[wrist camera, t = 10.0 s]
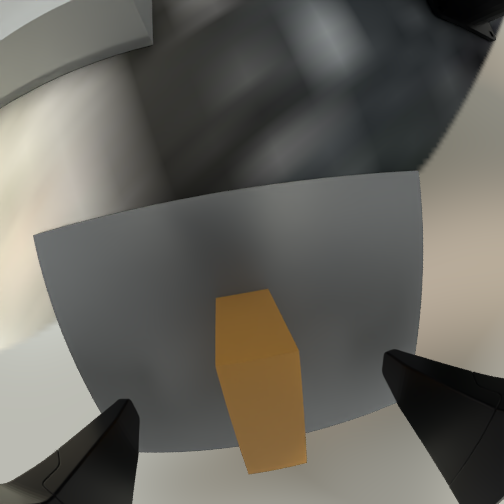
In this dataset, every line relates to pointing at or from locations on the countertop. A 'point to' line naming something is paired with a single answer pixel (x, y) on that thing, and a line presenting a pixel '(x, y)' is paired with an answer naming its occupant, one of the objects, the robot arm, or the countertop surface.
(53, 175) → the countertop surface
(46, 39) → the tub
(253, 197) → the grey lid
